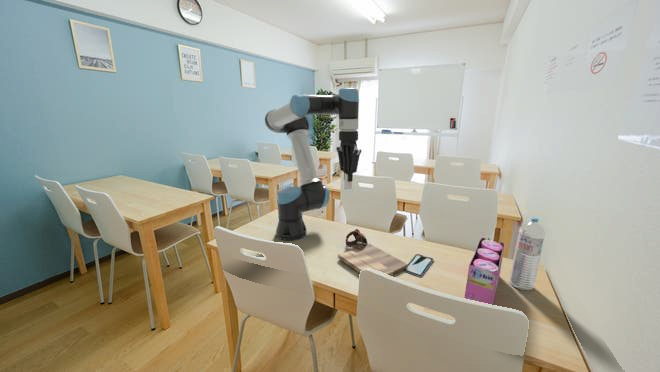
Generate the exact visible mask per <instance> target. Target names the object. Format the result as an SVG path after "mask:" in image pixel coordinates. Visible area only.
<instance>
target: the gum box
mask: <svg viewBox="0 0 660 372" xmlns="http://www.w3.org/2000/svg"><path fill="white" fill-rule="evenodd" d="M504 251H505V242H502V241H500V242H496V241H494V240H489V239H486V237H481V238H480V240H478V244H477V247H476V249H475V252H474V255H473V257H472V258H471V260H470V263H469V265H468V272H467V276H466V277H467V278H466V283H465V284H466V285H465V291H464V297H463V298H466V299H470V300H475V301H479V302H484V303H488V304H493V305H494V300H495V296H496V292H497V290H498V284H499V279H500V275H501V268H502V262H503V257H504Z"/></svg>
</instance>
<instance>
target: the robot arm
mask: <svg viewBox="0 0 660 372" xmlns="http://www.w3.org/2000/svg"><path fill="white" fill-rule="evenodd" d="M359 94H360V93H359V89H357V88H355V87H344V88H343V87H342V88H340V89H339V90H338V94H331V95H328V94H304V93H300V94H293V95H292V96H291V99H290V101H289V103H286V104H284V105H283V106H281V107H279V108H274V109H270V110H269V111H268V112H267V113H266V114H265V117H264V123H265V126H266V127H267V128H268V130H270V132H274V133H276V134H278V133H279V134H284V133H286V137H287V139H290V142H291V145H292V148H293V153H294V156H295V161H296V164H297V168H298V172H299V176H300V180H301V184H300V185H299V186H297V185H296V186H295V185H294V186H287V187H284V188H282V189H281V190H278V192H277V194H276V195H277V199H276V202H277V203H276V204H277V210H278V211H277V212H278V213H277V215H278V221H277V226H276V230H275V235H277V236H276V238H278V237H279V238H281V239H280V240H282V239H286V240H285V241H297V240H299V239H303V238H304V237H305V236H306V235H307V226H306V224H305V222H304V219H303V213H304V212H310V211H315V210H319V209H323V208H325V207H327V206H328V205H329V202H330V196H331V195H330V190H329V187H328V186H327V185H326V184H323V181H322V180H321V179H320V178H319V177H318V174H317V171H316V170H317V169H316V166H315V162H314V158H313V154H312V150H311V146H310V143H309V139H308V135H309V133H310V132H309V131H310V129H311V122H312V121H311V118H310V116H315V115H316V116H319V115H320V116H321V115H323V116H325V115H328V116H333V115H338V129H339V131H338V141H340V145H339V146H337V147H336V152H337V155H338V157H337V158H338V163H339V169H340V170H339V171H341V172H342V173H343V181H344V189H345V190H350V189H351V190H352V189H353V177H354V175H353V174H355V173H357V172H358V167H359V161H360V155H361V154H362V150H361V149H359V148H358V145H357V141H358V140H359V131H358V130H359V112H360V111H359V107H360V106H359V105H360V95H359ZM279 238H278V239H279ZM296 239H297V240H296Z"/></svg>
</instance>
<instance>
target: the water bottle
mask: <svg viewBox="0 0 660 372" xmlns="http://www.w3.org/2000/svg"><path fill="white" fill-rule="evenodd" d="M538 222H539V218H537V217H531V219H530V222H526V223H524V224H523V225H522V226H520V227H519V231H518V232H519V234H518V239H517V244H516V248H515V253H514V258H513V262H512V268H511V273H510V279H509V281H510V284H511V285H512V286H513V287H514V288H515V289H518V290H521V291H528V292H530V291H532V290H533V289H534V287H535V283H536V279H537V274H538V270H539V264H540V260H541V255H542V254H541V253H542V250H543V246H544V240H545V238H546V231H545V229H544V228H543V226H541V224H539V223H538Z"/></svg>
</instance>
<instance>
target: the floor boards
mask: <svg viewBox="0 0 660 372" xmlns="http://www.w3.org/2000/svg"><path fill="white" fill-rule="evenodd" d="M356 249H357V250H359V251H361V252H362V253H364V254H366V255H367V256H369V257H371V258H372V259H374V260H376V261H377V262H379V263H381V264H382V265H384V266H386V267H387V268H389V269H391V270H392V271H394V273H393V276H394V275H397V274H398V273H401V272H402V271H403V269H405V268H407V267H408V263H407V262H404V261H402V260H401V259H398V258H397V257H395V256H393V255H391V253H388V252H386V251H384V250H382V249H380V248H378V247H377V246H375V245H373V244H372V243H368V245H366V244H365V245H364V246H359V247H357V248H356ZM403 272H404V271H403Z"/></svg>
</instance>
